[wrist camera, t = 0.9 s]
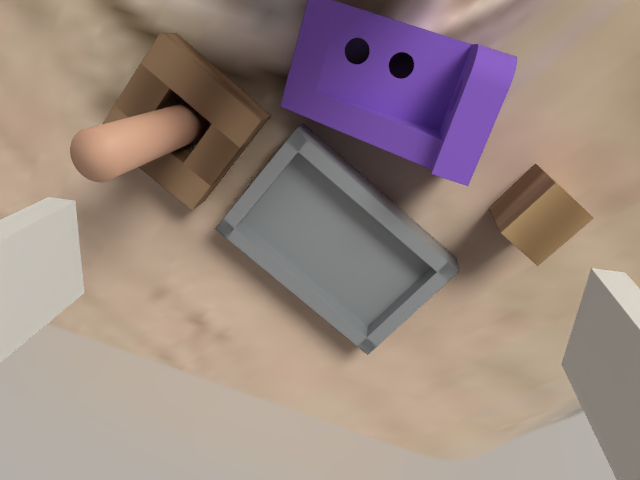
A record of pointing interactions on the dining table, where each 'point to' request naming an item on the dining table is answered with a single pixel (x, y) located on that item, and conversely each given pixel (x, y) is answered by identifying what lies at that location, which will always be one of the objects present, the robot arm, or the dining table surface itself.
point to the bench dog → (538, 215)
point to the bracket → (398, 87)
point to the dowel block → (207, 99)
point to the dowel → (135, 141)
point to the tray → (337, 241)
